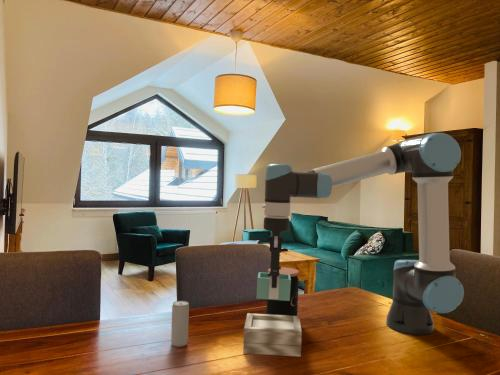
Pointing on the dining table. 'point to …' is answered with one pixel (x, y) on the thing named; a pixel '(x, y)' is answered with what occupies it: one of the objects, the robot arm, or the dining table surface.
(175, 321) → the beverage can
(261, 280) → the teal crate
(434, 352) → the dining table surface
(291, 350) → the beige crate
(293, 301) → the coffee jar
